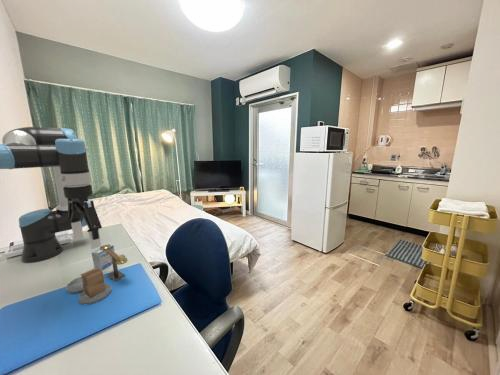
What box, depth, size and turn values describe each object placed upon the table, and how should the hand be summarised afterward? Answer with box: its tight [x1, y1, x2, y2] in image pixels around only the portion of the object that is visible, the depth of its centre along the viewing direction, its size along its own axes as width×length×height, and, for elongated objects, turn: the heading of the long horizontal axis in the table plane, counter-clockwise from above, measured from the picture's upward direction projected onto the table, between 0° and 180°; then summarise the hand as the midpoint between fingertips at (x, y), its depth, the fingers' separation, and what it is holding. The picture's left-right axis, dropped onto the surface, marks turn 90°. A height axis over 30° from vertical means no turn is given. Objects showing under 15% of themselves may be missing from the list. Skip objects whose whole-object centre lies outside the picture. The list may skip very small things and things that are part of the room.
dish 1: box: [65, 276, 84, 294], centre depth 85 cm, size 10×10×1 cm
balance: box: [99, 244, 128, 282], centre depth 89 cm, size 17×4×12 cm, turn 59°
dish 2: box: [78, 283, 112, 305], centre depth 79 cm, size 10×10×1 cm
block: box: [80, 267, 106, 298], centre depth 78 cm, size 5×5×8 cm
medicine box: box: [91, 244, 115, 271], centre depth 98 cm, size 8×4×9 cm, turn 168°
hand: (87, 242), depth 75 cm, fingers open, 13 cm apart
